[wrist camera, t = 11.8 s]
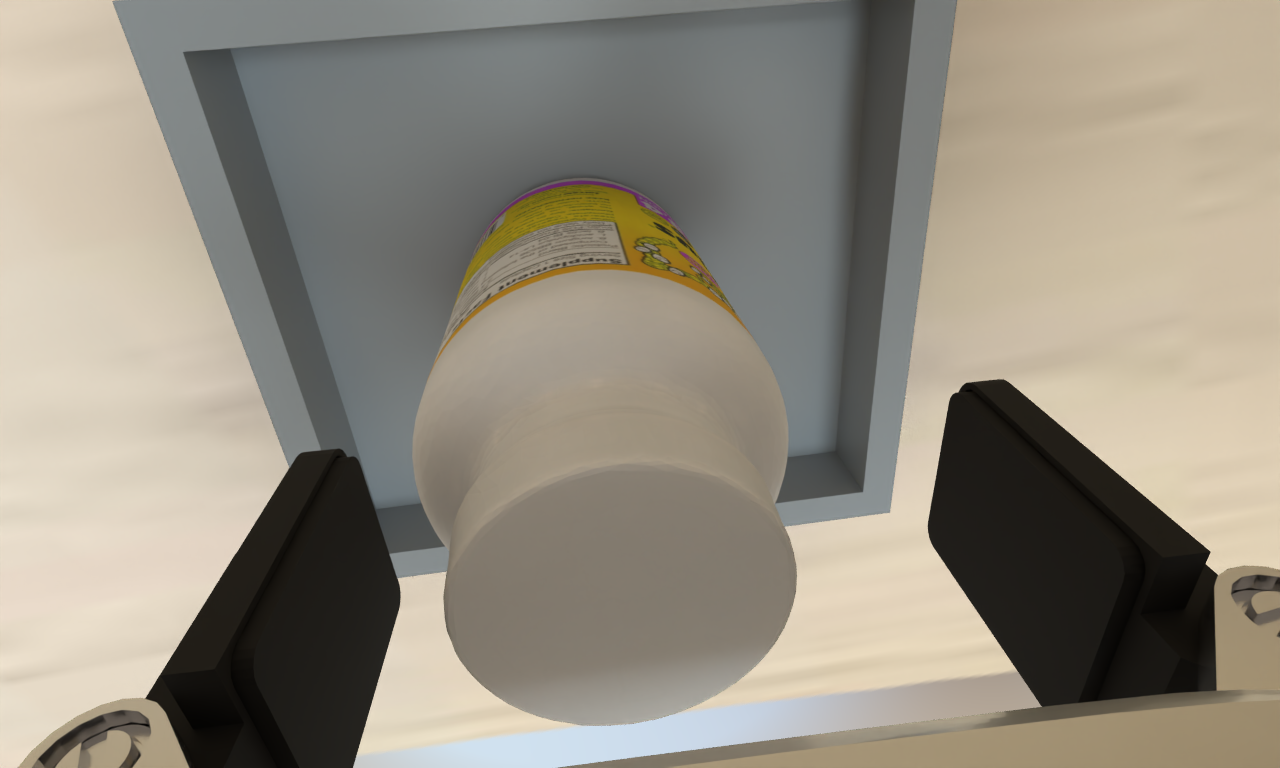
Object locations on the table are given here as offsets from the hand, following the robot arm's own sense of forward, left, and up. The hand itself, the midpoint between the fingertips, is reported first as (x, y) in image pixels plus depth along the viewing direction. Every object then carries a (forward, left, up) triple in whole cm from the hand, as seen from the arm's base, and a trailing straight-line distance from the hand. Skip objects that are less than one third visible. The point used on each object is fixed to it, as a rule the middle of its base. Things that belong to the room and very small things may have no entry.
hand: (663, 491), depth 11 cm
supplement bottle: (+1, 0, -11) cm, 11 cm away
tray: (+1, 0, -11) cm, 11 cm away
